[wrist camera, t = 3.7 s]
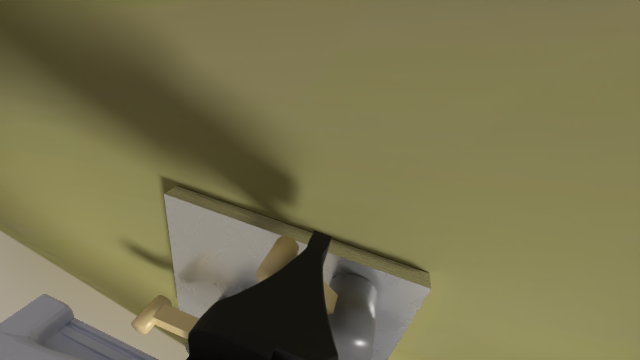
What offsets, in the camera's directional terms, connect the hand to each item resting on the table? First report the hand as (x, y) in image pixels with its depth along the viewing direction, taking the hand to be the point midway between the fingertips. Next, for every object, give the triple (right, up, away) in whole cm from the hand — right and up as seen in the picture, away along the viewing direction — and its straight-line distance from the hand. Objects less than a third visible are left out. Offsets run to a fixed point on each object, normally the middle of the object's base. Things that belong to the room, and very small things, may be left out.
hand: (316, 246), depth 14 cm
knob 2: (+1, -2, +2) cm, 3 cm away
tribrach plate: (-3, -5, +7) cm, 9 cm away
